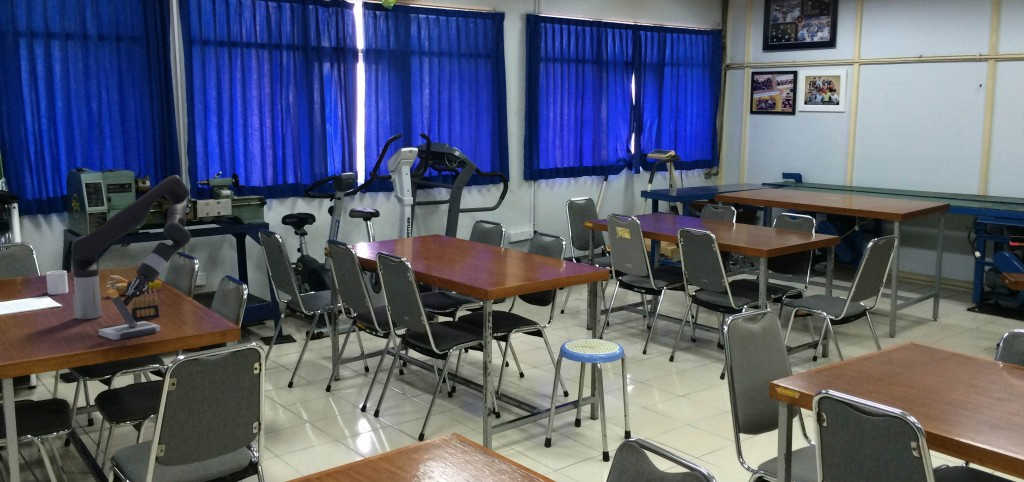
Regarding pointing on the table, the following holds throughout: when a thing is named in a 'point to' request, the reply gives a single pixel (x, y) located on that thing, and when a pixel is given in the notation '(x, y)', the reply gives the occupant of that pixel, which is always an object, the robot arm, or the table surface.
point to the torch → (121, 284)
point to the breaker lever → (121, 307)
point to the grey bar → (115, 325)
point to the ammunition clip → (145, 306)
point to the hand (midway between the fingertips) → (123, 304)
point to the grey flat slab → (125, 329)
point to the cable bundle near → (138, 333)
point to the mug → (57, 282)
